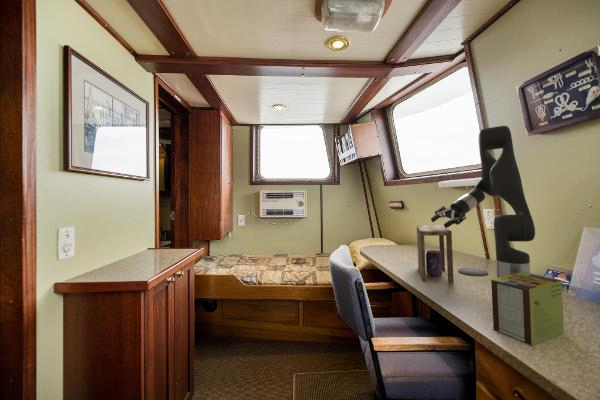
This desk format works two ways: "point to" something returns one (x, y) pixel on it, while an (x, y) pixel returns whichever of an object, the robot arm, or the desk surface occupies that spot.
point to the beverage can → (433, 263)
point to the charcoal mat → (472, 271)
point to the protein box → (527, 307)
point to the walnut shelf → (441, 232)
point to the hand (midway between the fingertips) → (438, 223)
